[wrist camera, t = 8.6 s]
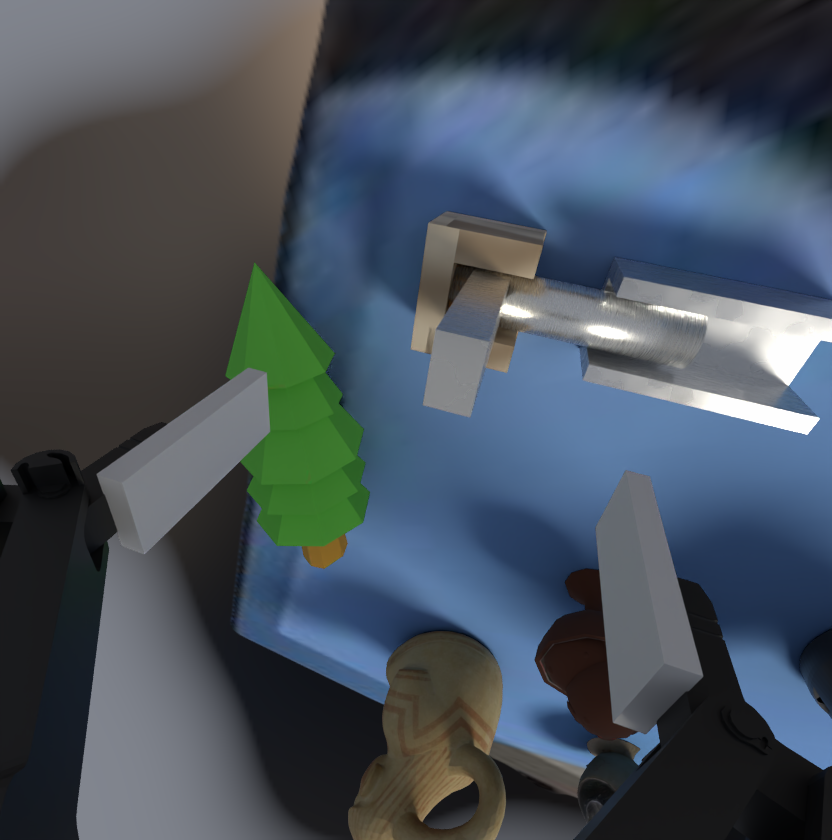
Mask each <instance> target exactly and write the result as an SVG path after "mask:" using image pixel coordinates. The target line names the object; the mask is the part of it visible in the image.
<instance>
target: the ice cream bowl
mask: <svg viewBox="0 0 832 840" xmlns="http://www.w3.org/2000/svg"><path fill="white" fill-rule="evenodd" d="M565 584H566V587H567V590H568V593H569V595H570V597H571V598H573V599H574V600H576V601H577V602H579V603H580V604H583V605H585V610H583V611H579V612H575V613H570V614H566V615H564V616H562V617H561V618H559V619H557V620H556V621H555V622H554V624H553V625H552V626H551V628H550V629H549V630H548V632H547V633H546V634H545V636H544V637H543V639H542V641H541V642H540V644H539V646H538V649H537V653H536V657H535V662H536V664H537V667H538V669H539V671H540V674H541V676H542V678H543V680H544V682H545V683H547V684H548V685H550V686H551V687H553V688H555V689H556V690H558V691H559V692H561V693H563V694H564V695H566V696H567V697H568V701H569V702H568V701H567V706H568V709H569V710H570V712H571V714H572V715H573V717H574V719H575V720H576V721H577V722H578V723H580V724H581V725H582V726H583V727H584V728H585V729H586V730H587V731H589V732H590V733H592V734H594V735H597V736H598V737H599V738H600V739H602V740H607V741H613V740H615V739H616V738H628V737H629V736H630V735H633V734H635V733H637V732H638V731H635V730H632V729H630V728H627V727H624V726H621V725H618V724H616V723H613V718H612V707H611V696H610V684H609V673H608V662H607V651H606V640H605V629H604V617H603V606H602V595H601V584H600V573H599V570H594V569H587V568H586V569H583V570H579V571H576V572H573V573H571V574H570V576H569V577H568V578H567V580H566V581H565Z"/></svg>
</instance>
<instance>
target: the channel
mask: <svg viewBox="0 0 832 840" xmlns="http://www.w3.org/2000/svg"><path fill="white" fill-rule="evenodd" d="M602 290H605V291H610V292H614V293H615V295H616V297H620V298H624V299H629V300H634V301H639V302H643V303H648V304H653V305H658V306H662V307H667V308H672V309H677V310H681V311H686V312H691V313H695V314H700V315H705V316H707V318H708V323H707V330H706V334H705V337H704V340H703V343H702V345H701V348H700V350H699V351H698V353H697V355H696V356H695V358H694V359H693V361H692V362H691V363H690V364H689V365H688V366H687V367H685V368H682V369H680V368H676V367H672V366H667V365H663V364H659V363H654V362H650V361H646V360H641V359H637V358H633V357H628V356H624V355H619V354H615V353H611V352H606V351H602V350H598V349H593V348H589V347H585V346H580V359H581V368H582V378H583V380H584V381H588V382H592V383H596V384H601V385H605V386H609V387H613V388H617V389H621V390H625V391H630V392H634V393H638V394H642V395H646V396H650V397H655V398H659V399H663V400H667V401H671V402H675V403H679V404H684V405H688V406H692V407H696V408H700V409H704V410H709V411H713V412H717V413H721V414H725V415H729V416H733V417H738V418H742V419H746V420H750V421H754V422H758V423H763V424H767V425H771V426H775V427H779V428H783V429H787V430H792V431H796V432H800V433H804V434H808V433H809V431H810V430H811V429H812V428H813V426H814V425H815V424H816V422H817V421H818V420H819V418H818V417H817V415H816V414H815V413H814V412H813V411H812V410H811V409H810V408H809V407H808V406H807V405H806V404H805V403H804V402H803V401H802V399H801V398H800V397H799V396H798V395H797V394H796V393H795V392H794V391H793V390H792V389H791V388H790V387H789V386H788V385H789V384H790V382H791V381H792V380H793V378H794V377H795V375H796V374H797V372H798V371H799V370H800V368H801V367H802V365H803V364H804V363H805V361H806V360H807V358H808V357H809V356H810V354H811V353H812V351H813V350H814V348H815V347H816V346H817V344H818V343H819V341H820V340H823V341H828V342H832V300H830V299H825V298H820V297H815V296H810V295H805V294H800V293H795V292H790V291H785V290H780V289H775V288H770V287H765V286H760V285H755V284H750V283H745V282H739V281H734V280H729V279H724V278H719V277H714V276H709V275H704V274H699V273H694V272H689V271H684V270H679V269H674V268H669V267H664V266H659V265H654V264H649V263H644V262H639V261H634V260H629V259H624V258H619V257H614V259H613V261H612V264H611V267H610V269H609V272H608V275H607V277H606V280H605V283H604V285H603V288H602Z"/></svg>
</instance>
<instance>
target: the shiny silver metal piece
mask: <svg viewBox="0 0 832 840" xmlns="http://www.w3.org/2000/svg"><path fill="white" fill-rule="evenodd" d="M707 323H708V318H707V316H705V315H700V314H695V313H691V312H686V311H681V310H677V309H672V308H667V307H662V306H658V305H653V304H648V303H643V302H639V301H634V300H629V299H624V298H620V297H616V295H615V293H614V292H610V291H605V290H600V289H595V288H590V287H586V286H581V285H576V284H571V283H567V282H562V281H557V280H552V279H548V278H543V277H538V276H534V279H530V278H525V277H520V276H516V275H511V274H506V273H501V272H497V271H492V270H487V269H482V268H478V267H473V266H468V265H463V264H459V263H458V264H457V267H456V270H455V273H454V276H453V280H452V284H451V288H450V293H449V298H448V305H447V312H446V314H445V316H444V317H443V319H442V320H441V322H440V323H439V325H438V326H437V328H436V330H435V336H434V342H433V348H432V354H431V359H430V365H429V371H428V377H427V383H426V389H425V395H424V400H423V405H424V406H428V407H432V408H436V409H439V410H443V411H447V412H451V413H455V414H458V415H462V416H466V417H471V413H472V410H473V407H474V404H475V401H476V398H477V394H478V391H479V388H480V385H481V382H482V379H483V375H484V372H485V369H486V366H487V363H488V360H489V356H490V353H491V350H492V347H493V344H494V341H495V337H496V334H497V330H498V327H502V328H506V329H511V330H515V331H519V332H524V333H528V334H532V335H537V336H541V337H545V338H550V339H554V340H558V341H563V342H567V343H572V344H576V345H580V346H585V347H589V348H593V349H598V350H602V351H606V352H611V353H615V354H619V355H624V356H628V357H633V358H637V359H641V360H646V361H650V362H654V363H659V364H663V365H667V366H672V367H676V368H680V369H682V368H685V367H687V366H688V365H689V364H690V363H691V362H692V361H693V359H694V358H695V356H696V355H697V353H698V351H699V350H700V348H701V345H702V343H703V340H704V337H705V334H706V330H707Z"/></svg>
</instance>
